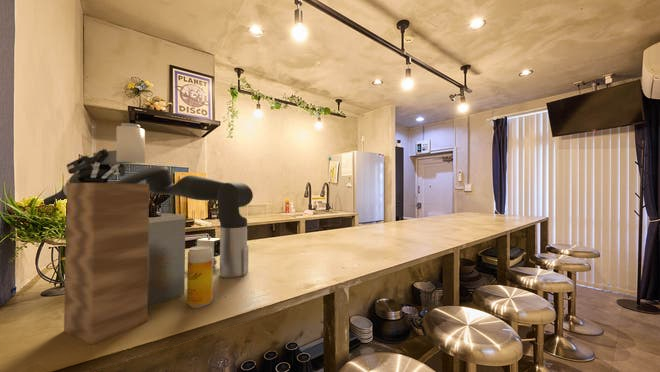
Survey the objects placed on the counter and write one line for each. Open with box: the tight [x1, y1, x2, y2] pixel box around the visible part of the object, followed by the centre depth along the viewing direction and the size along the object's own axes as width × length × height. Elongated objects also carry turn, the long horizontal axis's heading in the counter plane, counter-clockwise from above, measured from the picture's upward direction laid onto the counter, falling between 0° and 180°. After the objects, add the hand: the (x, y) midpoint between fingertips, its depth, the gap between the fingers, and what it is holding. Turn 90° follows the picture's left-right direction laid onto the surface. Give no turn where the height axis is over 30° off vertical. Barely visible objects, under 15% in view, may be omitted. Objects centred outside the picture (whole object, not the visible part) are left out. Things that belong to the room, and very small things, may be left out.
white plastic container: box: [92, 122, 146, 165], centre depth 70 cm, size 18×6×10 cm, turn 66°
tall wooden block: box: [63, 182, 150, 346], centre depth 57 cm, size 12×10×32 cm
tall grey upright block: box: [147, 213, 186, 309], centre depth 72 cm, size 10×10×23 cm
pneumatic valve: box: [192, 235, 220, 267], centre depth 101 cm, size 6×12×12 cm, turn 78°
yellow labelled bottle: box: [186, 246, 214, 309], centre depth 68 cm, size 6×6×15 cm
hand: (113, 152), depth 71 cm, fingers closed on white plastic container, 3 cm apart
